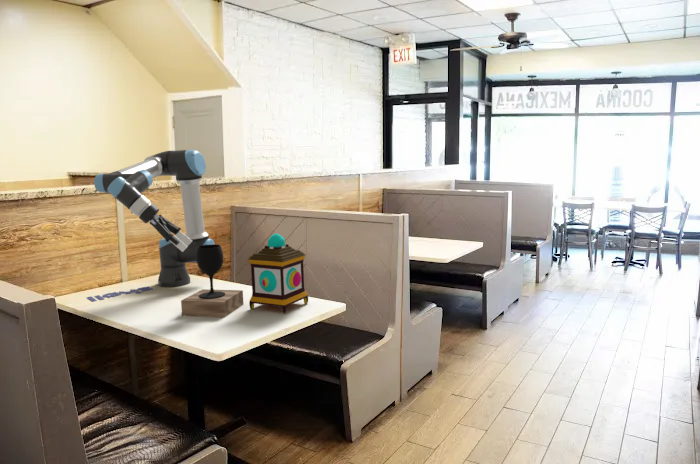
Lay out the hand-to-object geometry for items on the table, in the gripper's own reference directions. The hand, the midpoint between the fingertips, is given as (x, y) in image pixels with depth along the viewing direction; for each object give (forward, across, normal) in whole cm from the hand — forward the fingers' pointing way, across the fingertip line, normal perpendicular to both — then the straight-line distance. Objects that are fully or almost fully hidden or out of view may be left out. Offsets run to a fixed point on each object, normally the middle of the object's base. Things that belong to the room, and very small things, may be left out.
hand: (187, 246), depth 216 cm
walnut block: (+24, 0, -13) cm, 28 cm away
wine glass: (+20, 0, -9) cm, 22 cm away
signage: (-6, -38, -45) cm, 59 cm away
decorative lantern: (+43, +1, +6) cm, 44 cm away
